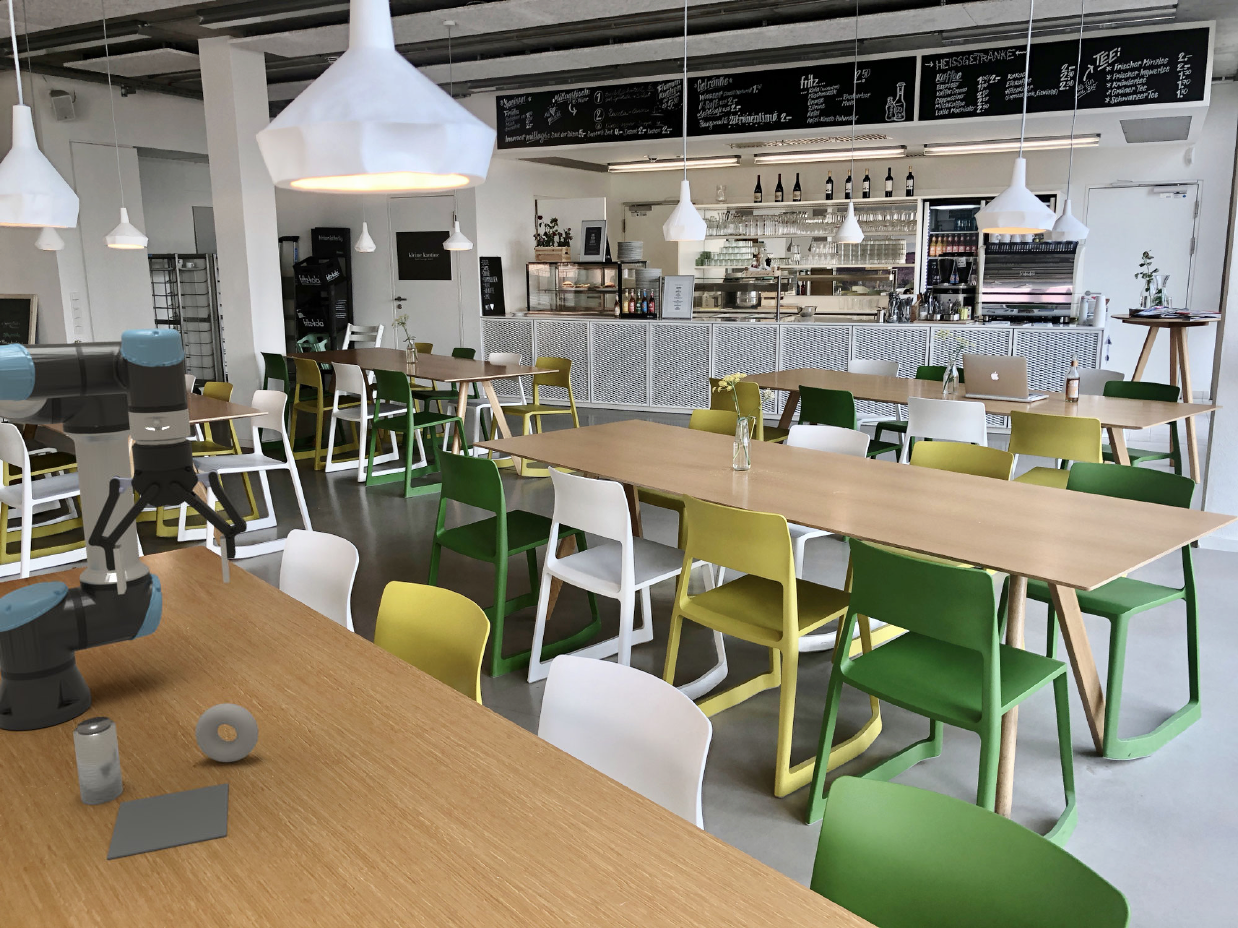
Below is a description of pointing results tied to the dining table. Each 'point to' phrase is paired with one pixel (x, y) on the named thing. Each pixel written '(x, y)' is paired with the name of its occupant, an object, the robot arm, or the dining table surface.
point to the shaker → (98, 760)
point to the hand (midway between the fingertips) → (175, 585)
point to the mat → (170, 821)
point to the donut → (215, 744)
